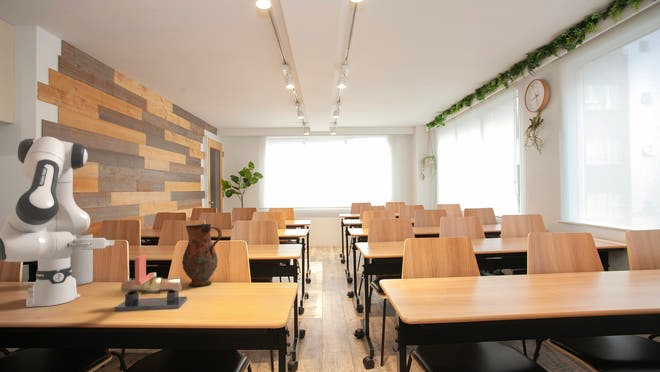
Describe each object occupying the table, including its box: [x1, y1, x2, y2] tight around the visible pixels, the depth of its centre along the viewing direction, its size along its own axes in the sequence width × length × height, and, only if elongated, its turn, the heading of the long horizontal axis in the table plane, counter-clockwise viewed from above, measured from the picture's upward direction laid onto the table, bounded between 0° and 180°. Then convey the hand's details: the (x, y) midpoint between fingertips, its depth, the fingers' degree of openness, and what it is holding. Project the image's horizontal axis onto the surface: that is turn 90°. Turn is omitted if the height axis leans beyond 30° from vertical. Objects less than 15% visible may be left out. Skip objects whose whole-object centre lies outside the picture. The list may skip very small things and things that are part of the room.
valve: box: [114, 276, 188, 312], centre depth 146 cm, size 24×11×11 cm, turn 96°
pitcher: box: [181, 223, 223, 288], centre depth 178 cm, size 17×21×30 cm
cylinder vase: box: [70, 233, 94, 287], centre depth 184 cm, size 12×12×25 cm
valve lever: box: [134, 254, 157, 285], centre depth 139 cm, size 16×3×11 cm, turn 6°
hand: (106, 242), depth 128 cm, fingers open, 8 cm apart
